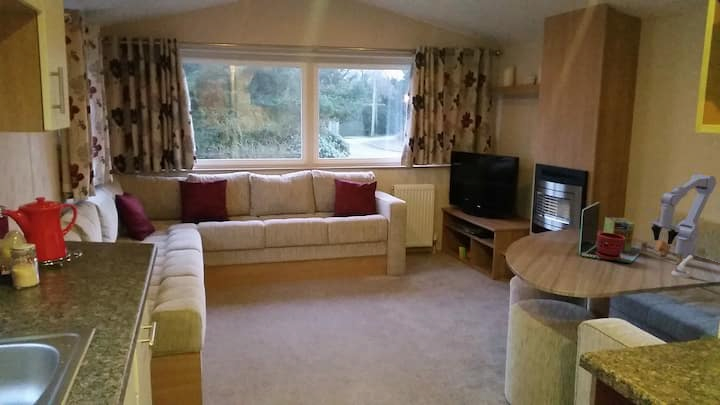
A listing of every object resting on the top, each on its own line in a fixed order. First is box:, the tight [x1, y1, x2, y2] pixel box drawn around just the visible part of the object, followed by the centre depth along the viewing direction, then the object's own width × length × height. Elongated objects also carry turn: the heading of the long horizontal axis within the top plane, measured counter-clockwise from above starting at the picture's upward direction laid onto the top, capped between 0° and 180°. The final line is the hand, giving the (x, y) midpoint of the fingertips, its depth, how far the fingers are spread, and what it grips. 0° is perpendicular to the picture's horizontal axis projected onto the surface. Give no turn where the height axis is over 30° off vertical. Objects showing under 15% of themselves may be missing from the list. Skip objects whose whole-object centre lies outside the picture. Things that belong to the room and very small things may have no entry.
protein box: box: [603, 216, 635, 252], centre depth 293 cm, size 10×15×16 cm
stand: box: [638, 241, 684, 266], centre depth 277 cm, size 6×22×5 cm, turn 23°
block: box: [652, 239, 672, 257], centre depth 276 cm, size 8×3×6 cm, turn 116°
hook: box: [671, 255, 694, 278], centre depth 249 cm, size 8×12×7 cm
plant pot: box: [595, 231, 626, 261], centre depth 272 cm, size 13×13×12 cm
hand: (662, 242), depth 275 cm, fingers open, 7 cm apart
